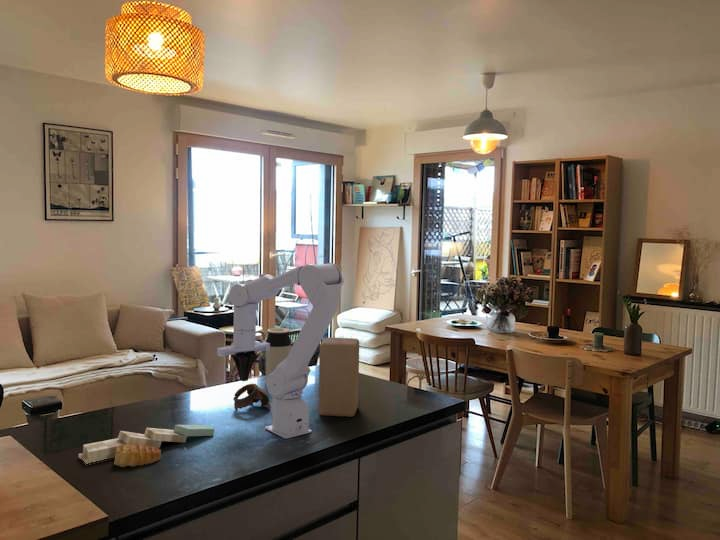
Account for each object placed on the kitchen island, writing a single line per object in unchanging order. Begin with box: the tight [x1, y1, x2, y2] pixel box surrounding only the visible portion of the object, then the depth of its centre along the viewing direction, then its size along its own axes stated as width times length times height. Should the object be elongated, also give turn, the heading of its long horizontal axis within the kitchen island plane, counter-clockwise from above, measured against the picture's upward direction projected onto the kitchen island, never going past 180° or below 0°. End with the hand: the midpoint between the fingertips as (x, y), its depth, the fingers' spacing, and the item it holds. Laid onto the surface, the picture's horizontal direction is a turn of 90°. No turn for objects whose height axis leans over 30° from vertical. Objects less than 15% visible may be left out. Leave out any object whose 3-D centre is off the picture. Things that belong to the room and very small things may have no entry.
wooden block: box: [318, 337, 360, 418], centre depth 163 cm, size 10×10×20 cm
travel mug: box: [265, 327, 292, 380], centre depth 190 cm, size 8×8×18 cm
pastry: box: [113, 443, 162, 468], centre depth 126 cm, size 9×7×4 cm
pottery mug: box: [233, 383, 272, 412], centre depth 164 cm, size 12×10×8 cm
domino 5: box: [173, 424, 215, 437], centre depth 141 cm, size 5×2×8 cm
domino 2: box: [78, 452, 116, 465], centre depth 128 cm, size 5×2×8 cm
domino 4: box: [143, 427, 188, 444], centre depth 137 cm, size 5×2×8 cm
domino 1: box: [82, 437, 127, 459], centre depth 129 cm, size 5×2×8 cm
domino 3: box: [117, 430, 163, 449], centre depth 133 cm, size 5×2×8 cm
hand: (243, 380), depth 155 cm, fingers closed
